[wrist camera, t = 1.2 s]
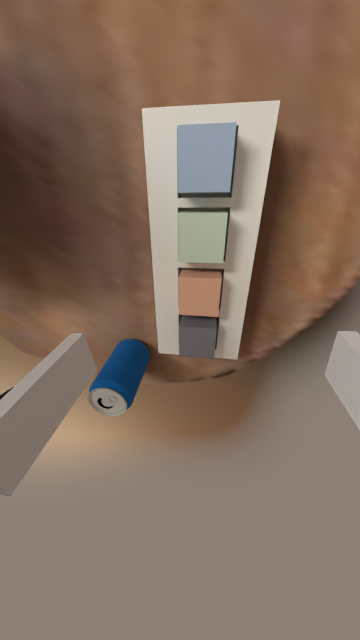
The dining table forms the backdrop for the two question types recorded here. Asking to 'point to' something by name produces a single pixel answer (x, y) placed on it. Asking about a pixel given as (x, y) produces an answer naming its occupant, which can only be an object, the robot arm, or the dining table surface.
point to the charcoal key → (197, 336)
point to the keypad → (239, 204)
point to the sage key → (201, 236)
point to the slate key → (205, 157)
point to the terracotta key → (199, 292)
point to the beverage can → (119, 378)
